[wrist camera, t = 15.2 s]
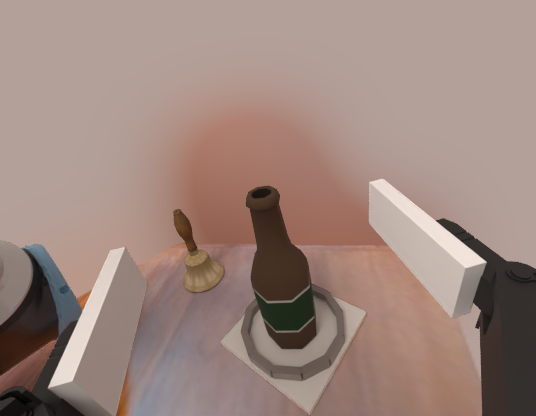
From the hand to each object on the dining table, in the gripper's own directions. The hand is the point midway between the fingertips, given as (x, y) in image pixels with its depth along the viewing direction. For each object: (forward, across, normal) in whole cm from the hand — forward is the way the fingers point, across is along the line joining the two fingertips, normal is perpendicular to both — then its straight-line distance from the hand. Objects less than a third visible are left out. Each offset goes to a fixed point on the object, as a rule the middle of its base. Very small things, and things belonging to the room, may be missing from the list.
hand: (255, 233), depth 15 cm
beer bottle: (+14, +2, -29) cm, 32 cm away
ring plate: (+14, +2, -30) cm, 33 cm away
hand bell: (+30, -13, -30) cm, 45 cm away
